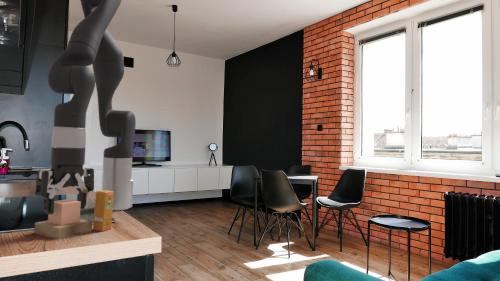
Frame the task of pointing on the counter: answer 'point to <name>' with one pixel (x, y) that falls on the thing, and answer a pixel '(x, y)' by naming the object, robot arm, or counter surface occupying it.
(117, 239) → the counter surface
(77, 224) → the tan flat block
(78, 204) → the terracotta block
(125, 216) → the counter surface
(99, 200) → the supplement box
